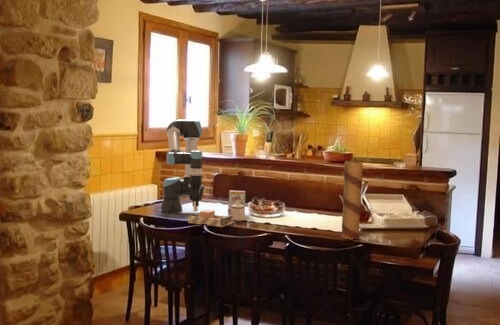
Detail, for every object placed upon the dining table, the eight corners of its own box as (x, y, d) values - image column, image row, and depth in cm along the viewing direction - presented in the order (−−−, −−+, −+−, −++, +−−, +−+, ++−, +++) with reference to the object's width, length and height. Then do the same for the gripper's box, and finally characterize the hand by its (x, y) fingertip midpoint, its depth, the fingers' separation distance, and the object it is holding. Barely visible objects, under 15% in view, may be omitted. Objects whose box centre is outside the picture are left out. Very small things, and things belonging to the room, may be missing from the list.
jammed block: (200, 220, 365) (200, 211, 365) (206, 218, 372) (206, 209, 372) (208, 221, 363) (208, 212, 362) (214, 219, 370) (214, 210, 369)
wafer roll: (351, 235, 340) (354, 160, 336) (362, 239, 331) (366, 162, 327) (337, 237, 335) (340, 160, 331) (348, 241, 326) (351, 162, 322)
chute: (188, 222, 366) (188, 214, 365) (199, 219, 378) (199, 211, 378) (222, 227, 355) (222, 218, 354) (233, 223, 367) (233, 215, 367)
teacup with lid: (246, 219, 382) (247, 201, 381) (240, 221, 374) (240, 203, 373) (231, 217, 388) (231, 200, 387) (224, 219, 380) (224, 201, 379)
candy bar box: (228, 214, 396) (228, 191, 394) (228, 213, 401) (229, 190, 399) (244, 215, 395) (244, 191, 393) (244, 214, 400) (245, 190, 398)
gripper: (184, 174, 368) (183, 211, 370) (201, 176, 362) (201, 212, 364) (190, 173, 375) (189, 209, 377) (207, 175, 369) (207, 211, 371)
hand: (195, 211), depth 370 cm, fingers closed
